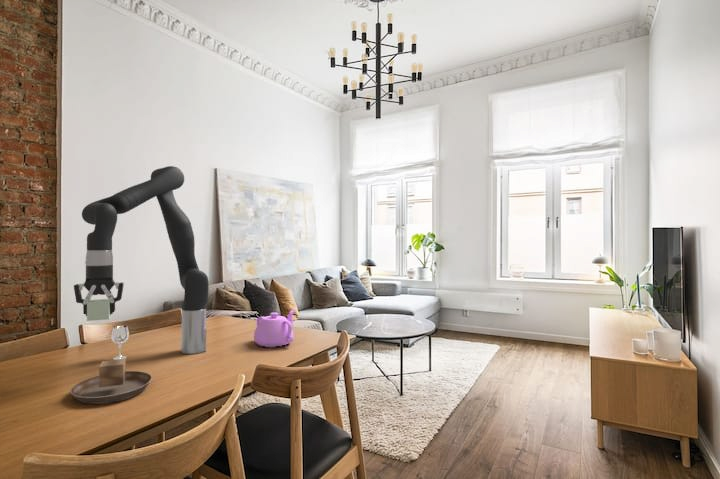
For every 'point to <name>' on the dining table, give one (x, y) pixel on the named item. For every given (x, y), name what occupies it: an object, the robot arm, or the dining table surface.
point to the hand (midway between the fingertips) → (99, 314)
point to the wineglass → (120, 338)
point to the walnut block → (112, 373)
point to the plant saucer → (111, 388)
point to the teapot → (274, 330)
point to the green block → (98, 309)
